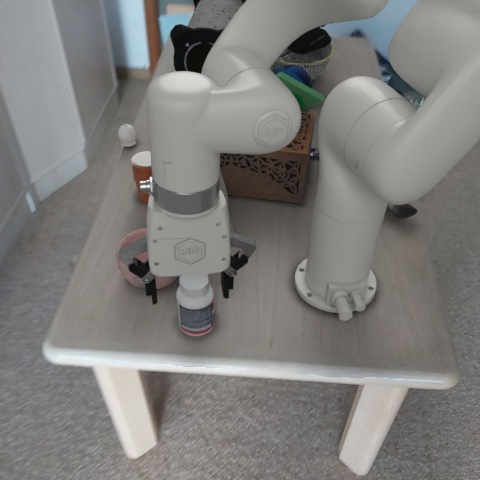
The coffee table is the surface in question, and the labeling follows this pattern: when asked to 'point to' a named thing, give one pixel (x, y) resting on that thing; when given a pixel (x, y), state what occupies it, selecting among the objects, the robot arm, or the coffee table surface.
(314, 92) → the toy
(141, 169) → the orange cylinder
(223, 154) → the tissue box cover
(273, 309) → the coffee table surface
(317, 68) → the bowl
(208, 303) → the pill bottle
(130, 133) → the decorative object set
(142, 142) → the coffee table surface
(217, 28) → the speaker
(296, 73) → the bomb
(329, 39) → the gaming mouse
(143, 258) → the mug
